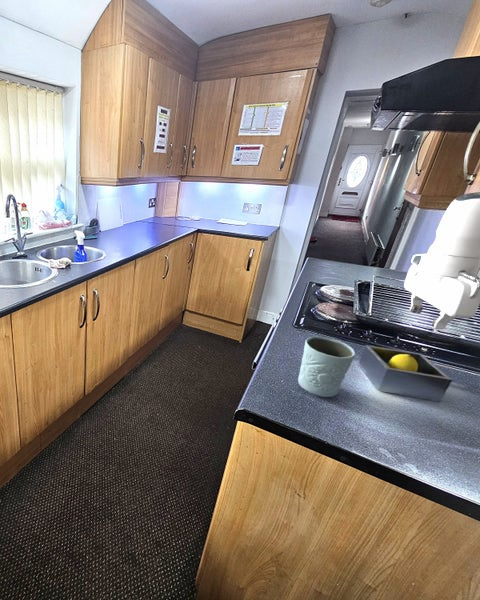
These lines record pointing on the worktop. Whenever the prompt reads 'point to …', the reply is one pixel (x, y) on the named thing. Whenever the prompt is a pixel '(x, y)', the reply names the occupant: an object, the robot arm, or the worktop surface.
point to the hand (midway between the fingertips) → (425, 319)
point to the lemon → (403, 363)
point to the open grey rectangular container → (403, 374)
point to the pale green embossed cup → (324, 365)
